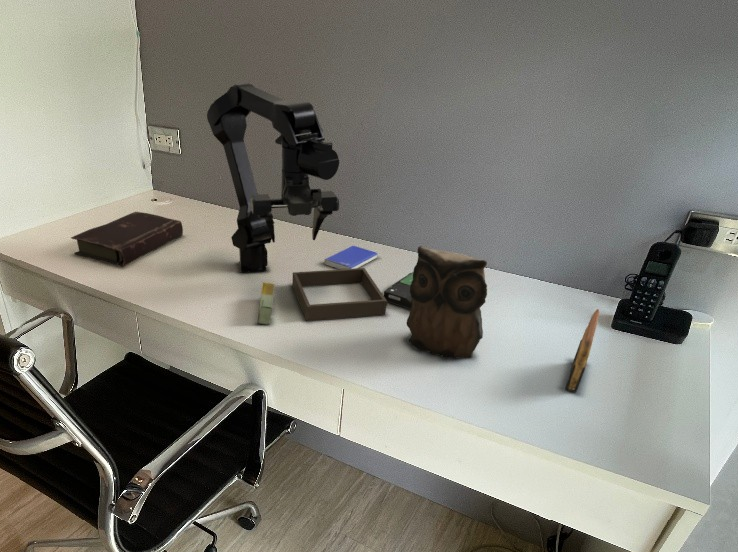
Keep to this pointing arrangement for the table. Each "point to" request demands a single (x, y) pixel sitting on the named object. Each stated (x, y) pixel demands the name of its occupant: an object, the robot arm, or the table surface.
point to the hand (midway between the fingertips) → (293, 240)
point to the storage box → (344, 308)
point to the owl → (447, 303)
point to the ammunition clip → (582, 355)
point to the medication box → (266, 303)
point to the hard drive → (350, 258)
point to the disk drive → (400, 292)
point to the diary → (127, 238)
